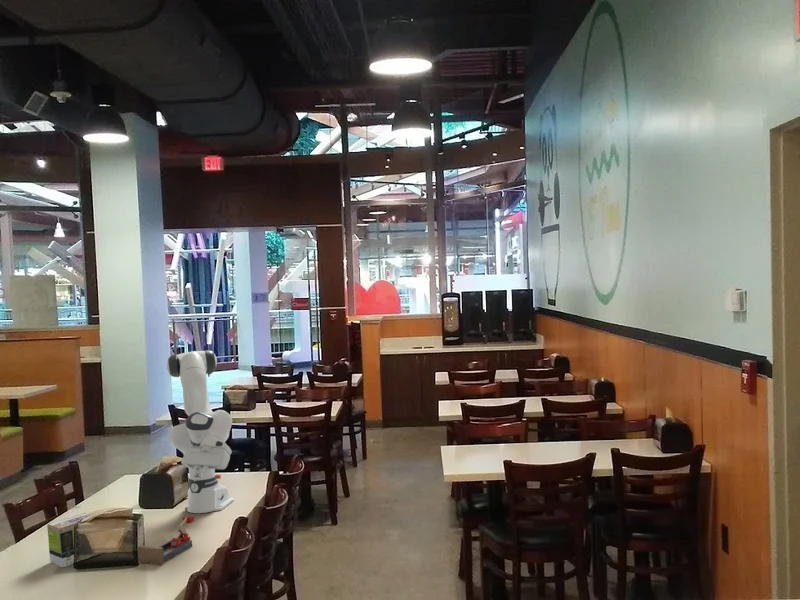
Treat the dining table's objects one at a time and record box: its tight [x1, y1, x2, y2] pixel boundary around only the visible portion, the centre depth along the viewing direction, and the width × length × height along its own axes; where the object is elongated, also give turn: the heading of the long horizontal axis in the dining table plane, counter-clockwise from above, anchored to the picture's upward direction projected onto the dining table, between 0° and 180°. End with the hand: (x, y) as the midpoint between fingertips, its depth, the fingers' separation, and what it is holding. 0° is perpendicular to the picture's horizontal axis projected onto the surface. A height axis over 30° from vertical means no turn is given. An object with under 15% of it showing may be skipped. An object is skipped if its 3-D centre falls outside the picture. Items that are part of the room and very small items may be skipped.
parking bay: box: [137, 538, 193, 567], centre depth 266 cm, size 19×10×6 cm, turn 159°
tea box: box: [46, 512, 92, 568], centre depth 267 cm, size 15×10×15 cm, turn 141°
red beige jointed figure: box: [170, 515, 195, 550], centre depth 275 cm, size 3×14×10 cm, turn 168°
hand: (197, 476), depth 285 cm, fingers closed
